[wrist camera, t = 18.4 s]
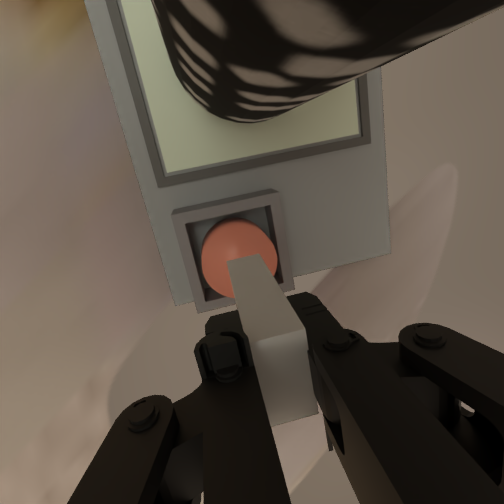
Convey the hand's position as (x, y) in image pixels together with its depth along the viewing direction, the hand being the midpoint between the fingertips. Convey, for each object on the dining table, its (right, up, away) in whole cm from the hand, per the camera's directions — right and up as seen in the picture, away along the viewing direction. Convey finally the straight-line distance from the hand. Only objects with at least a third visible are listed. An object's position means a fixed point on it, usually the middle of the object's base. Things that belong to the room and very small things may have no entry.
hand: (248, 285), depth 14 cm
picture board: (0, +9, +5) cm, 10 cm away
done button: (-1, +2, +5) cm, 5 cm away
